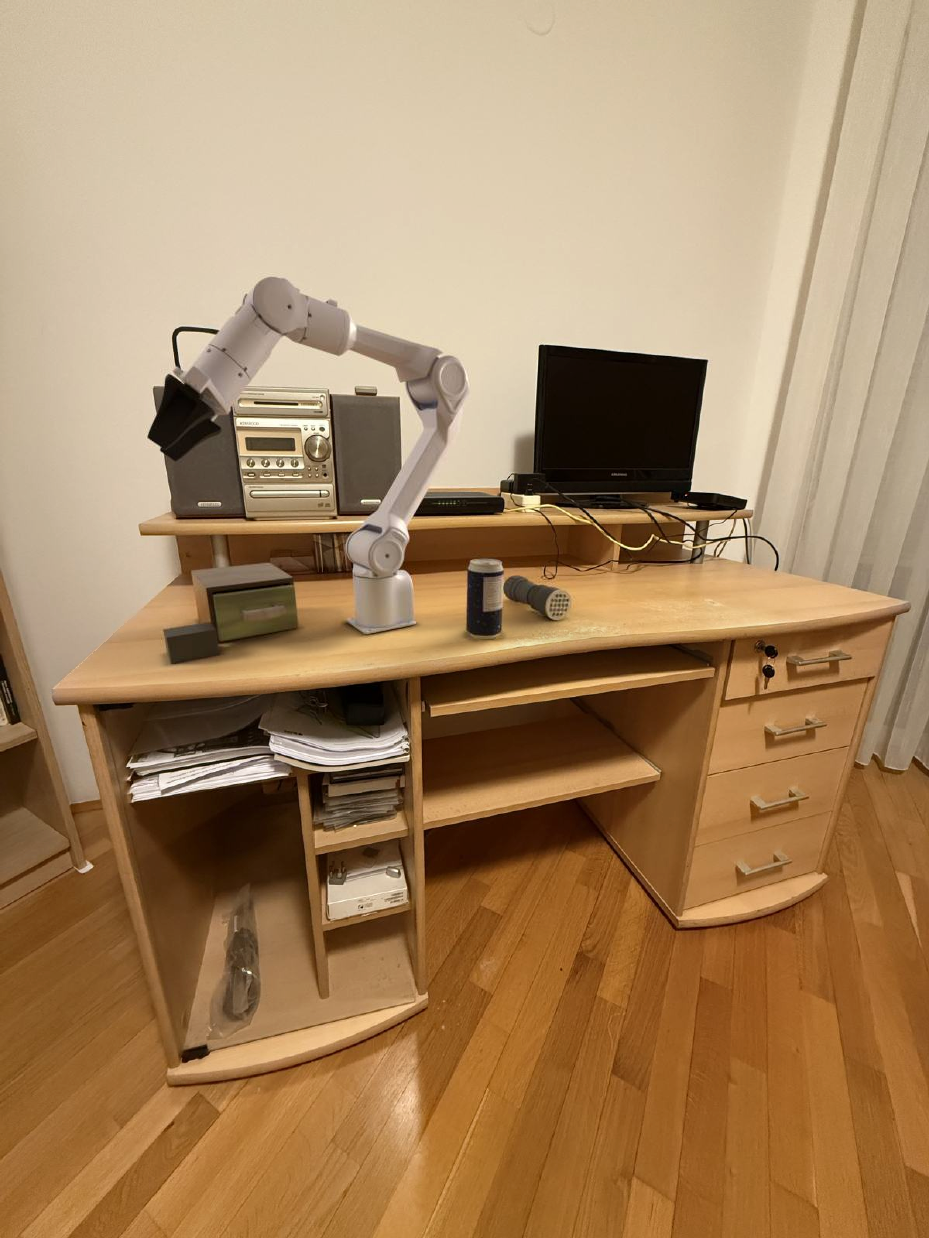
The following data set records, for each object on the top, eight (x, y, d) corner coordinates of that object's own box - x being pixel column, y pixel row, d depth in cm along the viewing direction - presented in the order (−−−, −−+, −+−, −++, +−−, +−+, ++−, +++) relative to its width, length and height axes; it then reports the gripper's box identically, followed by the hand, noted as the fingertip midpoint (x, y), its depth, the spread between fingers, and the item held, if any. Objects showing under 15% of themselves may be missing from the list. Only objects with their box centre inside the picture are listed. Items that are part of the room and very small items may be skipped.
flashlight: (499, 600, 99) (500, 574, 97) (522, 597, 101) (523, 571, 99) (546, 621, 86) (548, 592, 84) (570, 617, 88) (572, 588, 87)
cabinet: (298, 628, 80) (293, 577, 78) (214, 643, 73) (205, 587, 71) (274, 608, 91) (269, 562, 88) (198, 619, 84) (190, 570, 81)
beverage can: (499, 629, 82) (502, 558, 78) (503, 641, 76) (506, 565, 73) (465, 628, 82) (466, 557, 78) (466, 640, 76) (468, 565, 72)
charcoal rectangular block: (214, 646, 72) (210, 621, 71) (219, 654, 69) (216, 629, 68) (167, 654, 69) (162, 629, 68) (171, 664, 66) (166, 637, 65)
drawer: (308, 635, 75) (304, 592, 72) (227, 651, 68) (220, 604, 66) (275, 608, 88) (271, 571, 86) (205, 619, 81) (199, 579, 79)
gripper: (204, 361, 66) (142, 440, 65) (191, 313, 53) (112, 411, 51) (252, 398, 69) (193, 475, 67) (250, 361, 56) (177, 456, 54)
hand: (162, 450), depth 59 cm, fingers open, 7 cm apart
